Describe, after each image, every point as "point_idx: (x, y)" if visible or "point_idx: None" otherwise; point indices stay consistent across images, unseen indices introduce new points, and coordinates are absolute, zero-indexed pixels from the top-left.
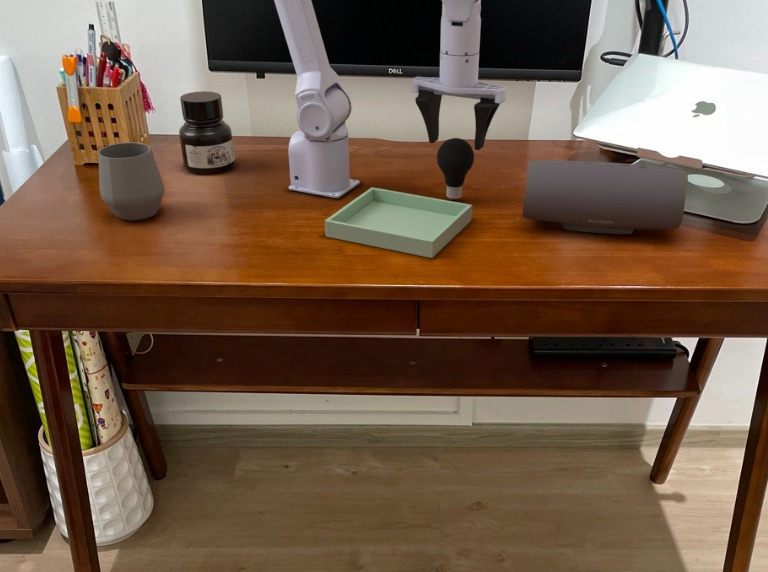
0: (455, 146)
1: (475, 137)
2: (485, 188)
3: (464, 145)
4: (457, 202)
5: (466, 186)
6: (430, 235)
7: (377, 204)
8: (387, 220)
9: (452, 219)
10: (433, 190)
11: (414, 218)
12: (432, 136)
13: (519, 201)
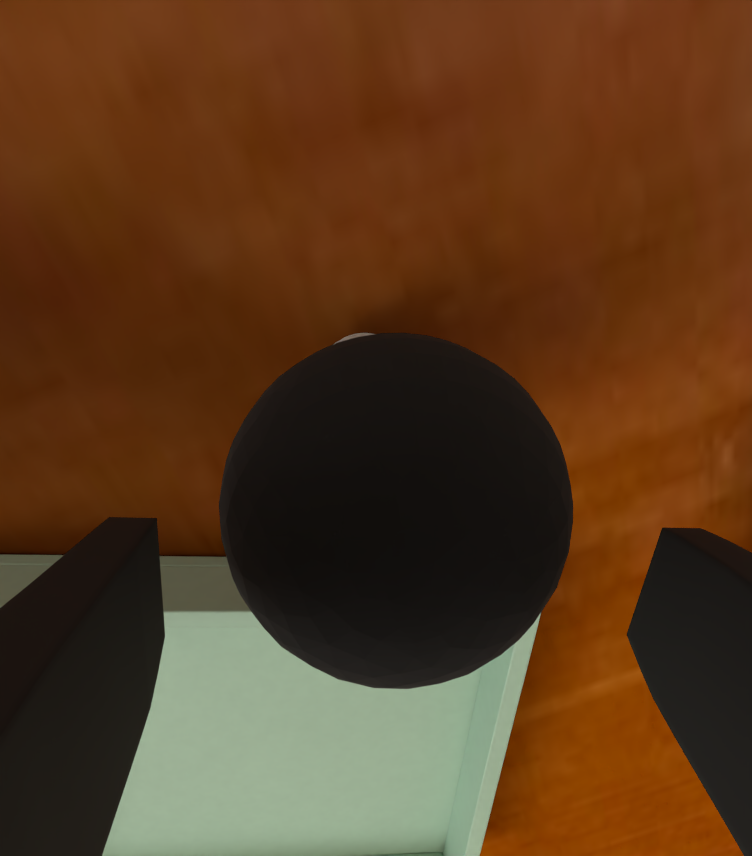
0: (440, 681)
1: (699, 771)
2: (502, 58)
3: (521, 629)
4: None
5: (361, 69)
6: (400, 762)
7: None
8: (174, 726)
9: (487, 767)
10: (175, 245)
11: (274, 669)
12: (147, 714)
13: (740, 223)
